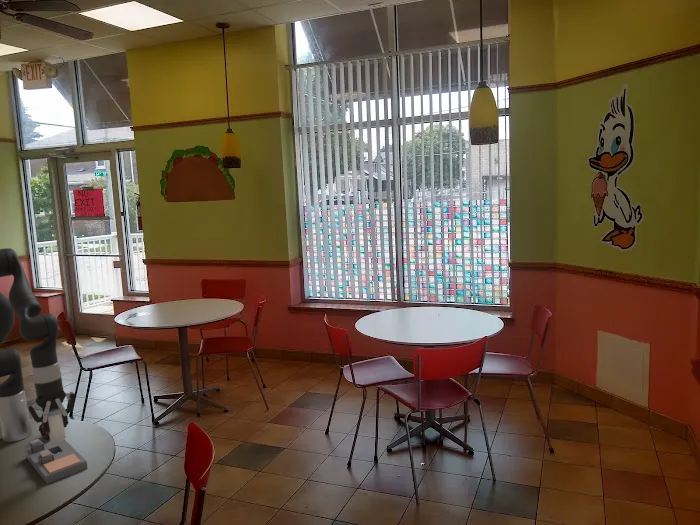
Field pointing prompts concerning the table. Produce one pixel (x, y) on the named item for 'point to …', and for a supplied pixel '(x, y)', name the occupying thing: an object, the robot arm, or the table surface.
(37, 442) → the button back
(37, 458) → the housing
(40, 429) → the icecream
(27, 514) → the table surface
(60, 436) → the cartridge
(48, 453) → the button front
